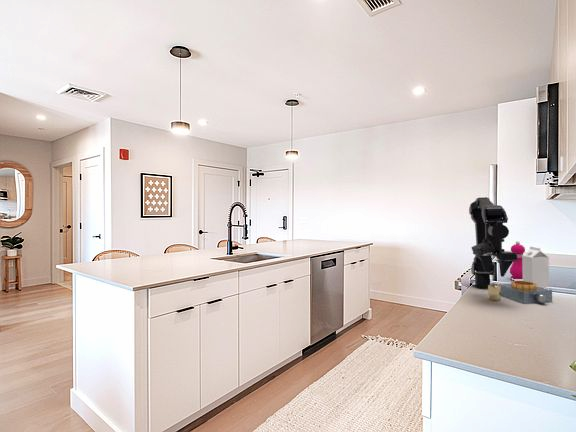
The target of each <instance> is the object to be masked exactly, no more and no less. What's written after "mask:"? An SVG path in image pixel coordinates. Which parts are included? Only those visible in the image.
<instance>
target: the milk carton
mask: <svg viewBox="0 0 576 432" xmlns="http://www.w3.org/2000/svg"><path fill="white" fill-rule="evenodd" d="M549 260H550V258H549V256H548V255H547V254H546V253H544V252H542V251H541V248H540V247H535V246H529V249H528V250H527V251H525V252H524V253H523V255H522V270H523V281H528V282H533V283H536V284H537V287H541V288H546V287H549V288H550V269H549V268H550V265H549V264H550V261H549Z"/></svg>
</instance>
